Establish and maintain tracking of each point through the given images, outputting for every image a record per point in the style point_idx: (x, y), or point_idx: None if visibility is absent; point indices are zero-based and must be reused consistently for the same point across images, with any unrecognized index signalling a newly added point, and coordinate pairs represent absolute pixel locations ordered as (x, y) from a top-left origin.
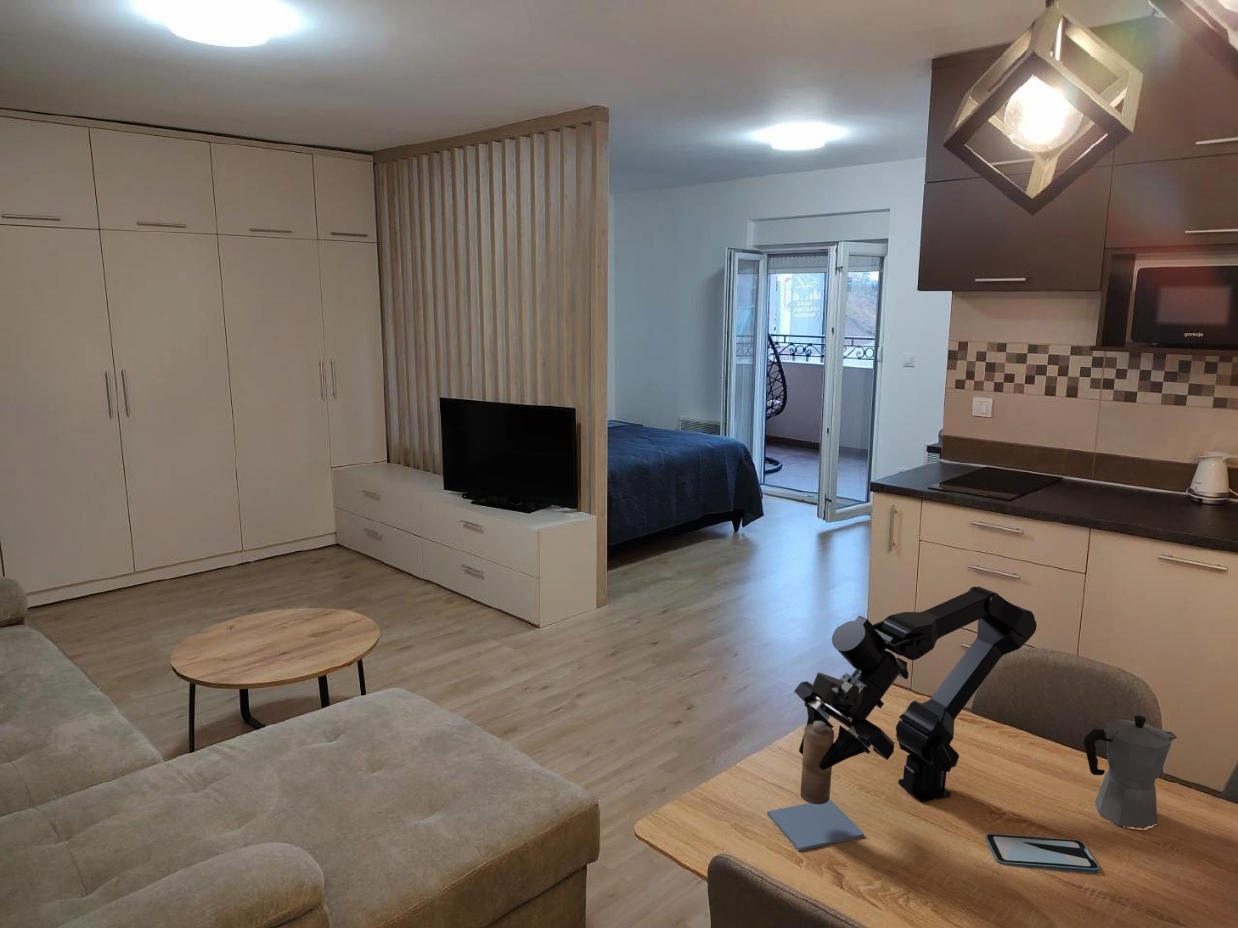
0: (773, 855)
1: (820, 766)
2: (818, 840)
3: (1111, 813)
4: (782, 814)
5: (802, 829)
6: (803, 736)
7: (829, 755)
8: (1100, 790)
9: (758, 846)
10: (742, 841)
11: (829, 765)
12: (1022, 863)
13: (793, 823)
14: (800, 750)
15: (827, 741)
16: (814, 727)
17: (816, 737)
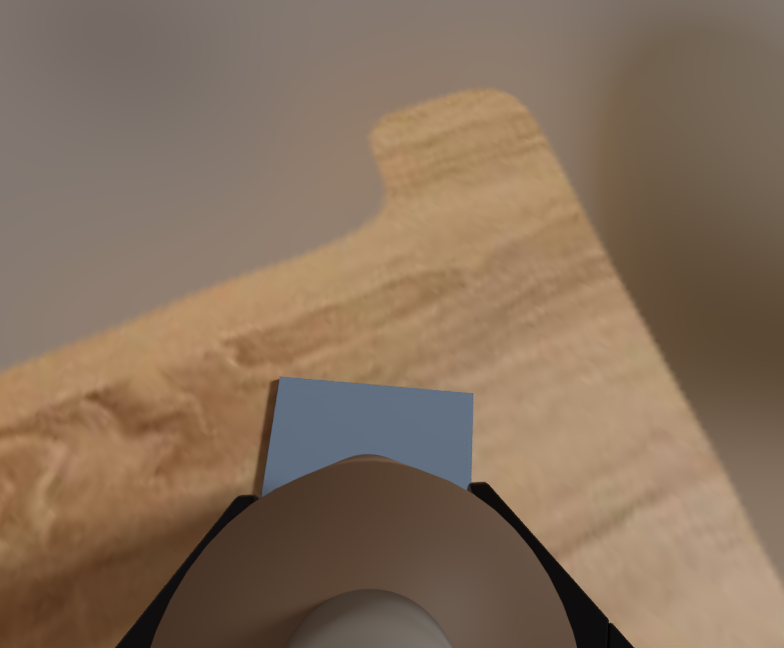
0: (298, 302)
1: (237, 498)
2: (283, 460)
3: None
4: (442, 431)
5: (350, 444)
6: (556, 566)
7: (165, 595)
8: None
9: (348, 287)
10: (384, 260)
11: None
12: None
13: (389, 436)
14: (474, 487)
15: None
16: (369, 616)
17: (232, 521)
